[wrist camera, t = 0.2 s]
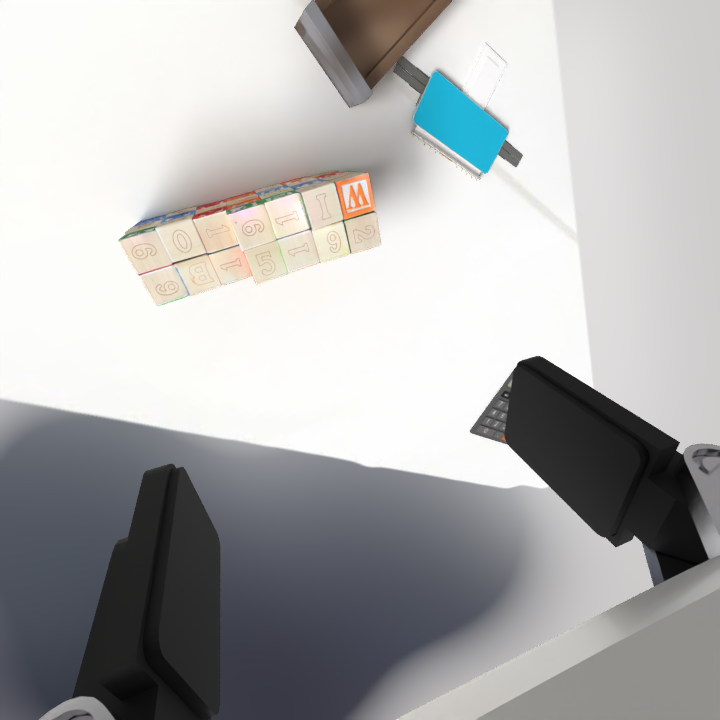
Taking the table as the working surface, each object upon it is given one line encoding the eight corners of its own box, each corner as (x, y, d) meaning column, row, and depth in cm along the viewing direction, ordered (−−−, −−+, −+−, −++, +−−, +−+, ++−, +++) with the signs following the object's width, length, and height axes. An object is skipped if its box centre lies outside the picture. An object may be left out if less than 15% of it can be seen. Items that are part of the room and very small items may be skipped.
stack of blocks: (167, 279, 40) (148, 320, 30) (136, 221, 37) (104, 245, 27) (345, 225, 44) (383, 246, 34) (333, 168, 40) (370, 172, 30)
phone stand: (545, 107, 45) (556, 105, 44) (494, 200, 49) (502, 201, 48) (424, -10, 36) (432, -17, 35) (372, 116, 40) (378, 115, 38)
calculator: (470, 433, 69) (517, 368, 65) (467, 430, 70) (514, 366, 65) (508, 445, 74) (554, 386, 70) (505, 442, 75) (550, 383, 71)
